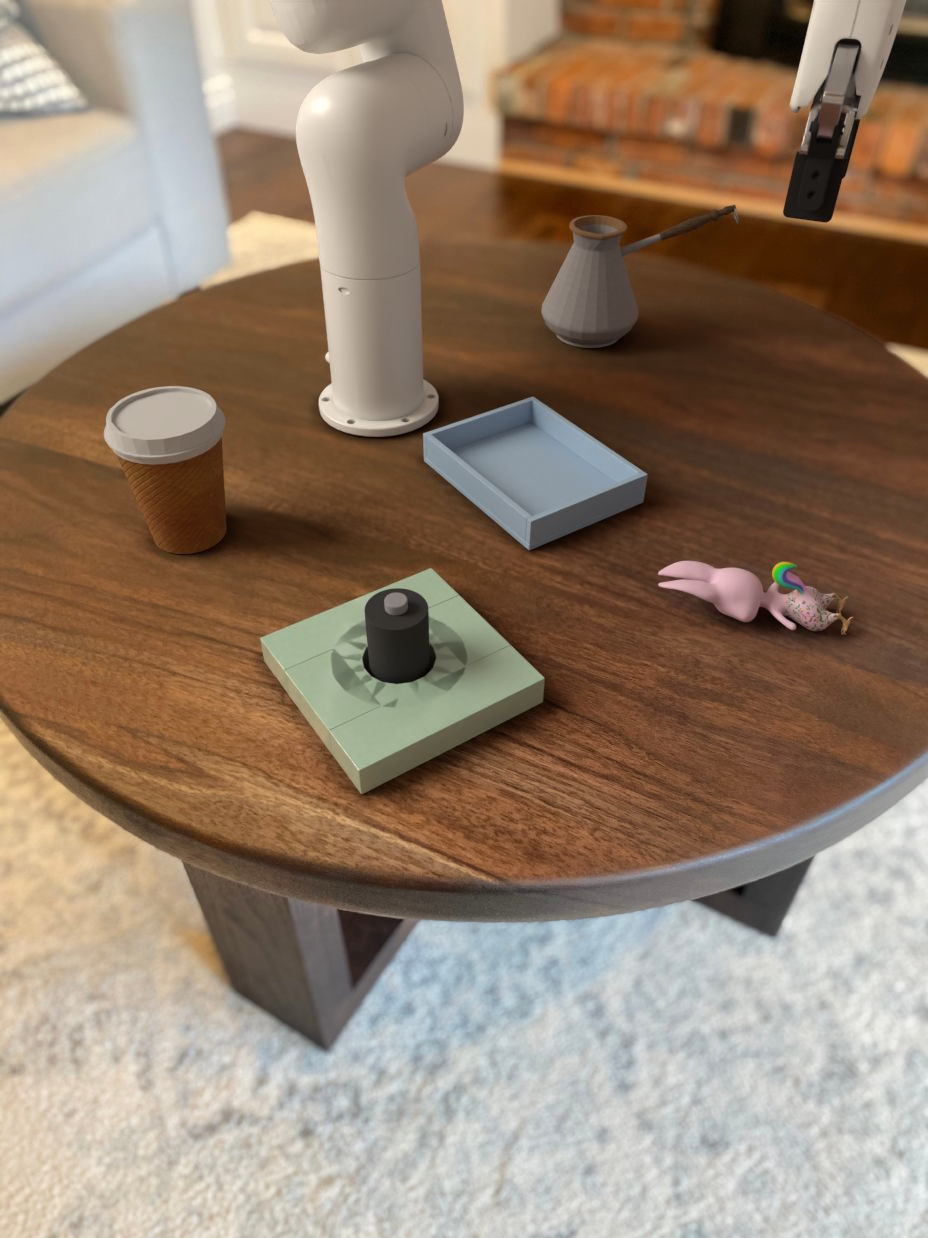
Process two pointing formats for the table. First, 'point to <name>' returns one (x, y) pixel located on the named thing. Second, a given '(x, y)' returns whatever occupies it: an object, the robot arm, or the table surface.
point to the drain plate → (400, 713)
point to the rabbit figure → (756, 594)
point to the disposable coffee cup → (173, 463)
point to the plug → (397, 636)
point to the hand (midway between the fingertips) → (814, 196)
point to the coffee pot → (602, 280)
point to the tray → (533, 471)
